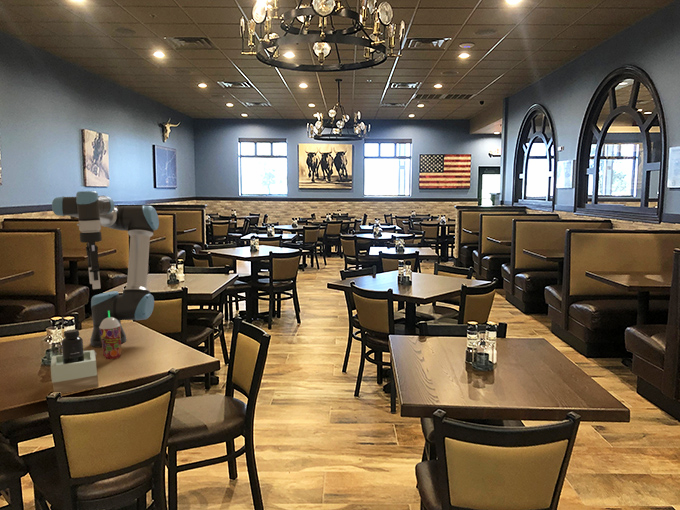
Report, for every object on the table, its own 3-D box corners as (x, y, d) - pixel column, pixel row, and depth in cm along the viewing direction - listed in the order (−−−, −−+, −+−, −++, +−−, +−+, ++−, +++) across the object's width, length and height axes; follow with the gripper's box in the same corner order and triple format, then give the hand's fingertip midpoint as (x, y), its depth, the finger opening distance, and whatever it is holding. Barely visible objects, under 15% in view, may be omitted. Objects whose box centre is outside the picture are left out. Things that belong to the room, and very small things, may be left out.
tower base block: (53, 384, 191) (52, 370, 190) (95, 376, 198) (94, 363, 197) (54, 396, 179) (52, 382, 178) (98, 388, 186) (97, 374, 185)
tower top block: (53, 370, 191) (51, 356, 190) (95, 363, 197) (94, 349, 196) (52, 382, 178) (50, 367, 177) (97, 375, 185) (95, 360, 184)
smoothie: (105, 362, 213) (101, 314, 210) (99, 357, 219) (94, 311, 216) (126, 357, 218) (122, 310, 215) (119, 352, 224) (115, 307, 222)
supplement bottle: (74, 367, 183) (71, 333, 182) (58, 365, 185) (55, 333, 183) (88, 360, 190) (85, 328, 188) (73, 359, 191) (70, 328, 190)
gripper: (77, 230, 209) (82, 282, 211) (81, 234, 187) (86, 292, 190) (98, 229, 212) (102, 280, 215) (104, 232, 191) (109, 289, 193)
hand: (95, 286), depth 202 cm, fingers open, 13 cm apart
